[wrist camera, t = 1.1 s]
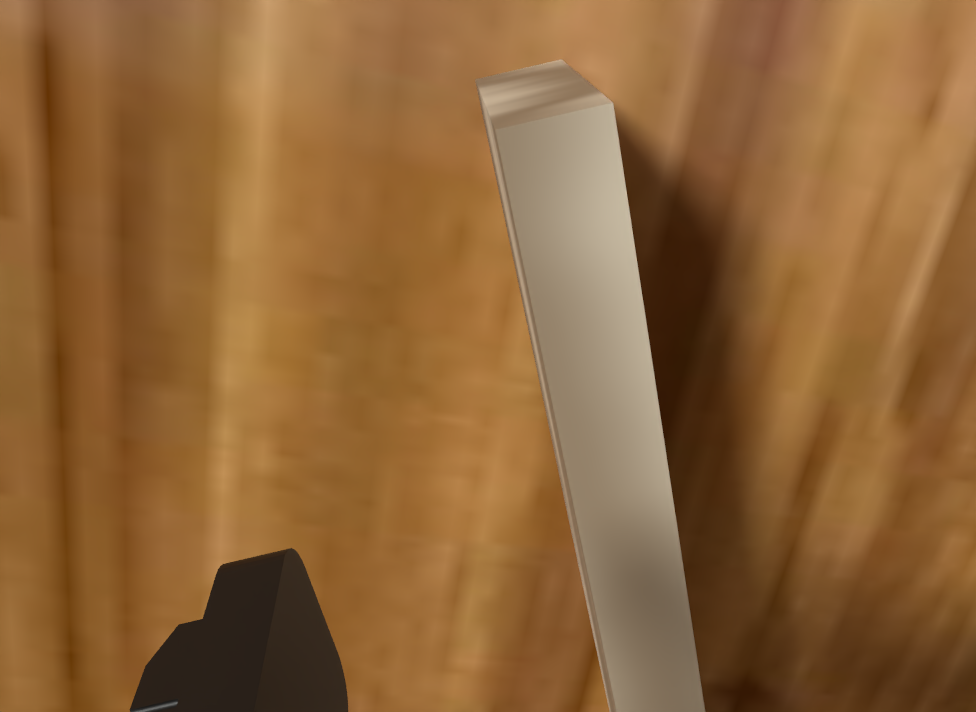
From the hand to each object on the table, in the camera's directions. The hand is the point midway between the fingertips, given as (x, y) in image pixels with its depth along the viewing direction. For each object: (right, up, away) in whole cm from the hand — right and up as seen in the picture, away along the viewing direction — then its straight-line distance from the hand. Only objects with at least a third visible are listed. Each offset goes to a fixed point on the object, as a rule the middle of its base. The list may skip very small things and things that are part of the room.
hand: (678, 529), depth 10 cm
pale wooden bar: (+1, -2, +16) cm, 16 cm away
